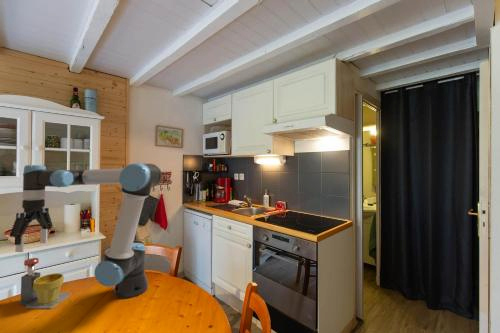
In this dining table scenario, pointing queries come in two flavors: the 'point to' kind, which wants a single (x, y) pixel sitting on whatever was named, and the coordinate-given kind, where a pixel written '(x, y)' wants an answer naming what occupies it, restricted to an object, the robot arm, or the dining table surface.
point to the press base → (31, 297)
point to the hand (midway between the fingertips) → (32, 247)
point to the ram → (31, 265)
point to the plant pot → (48, 287)
